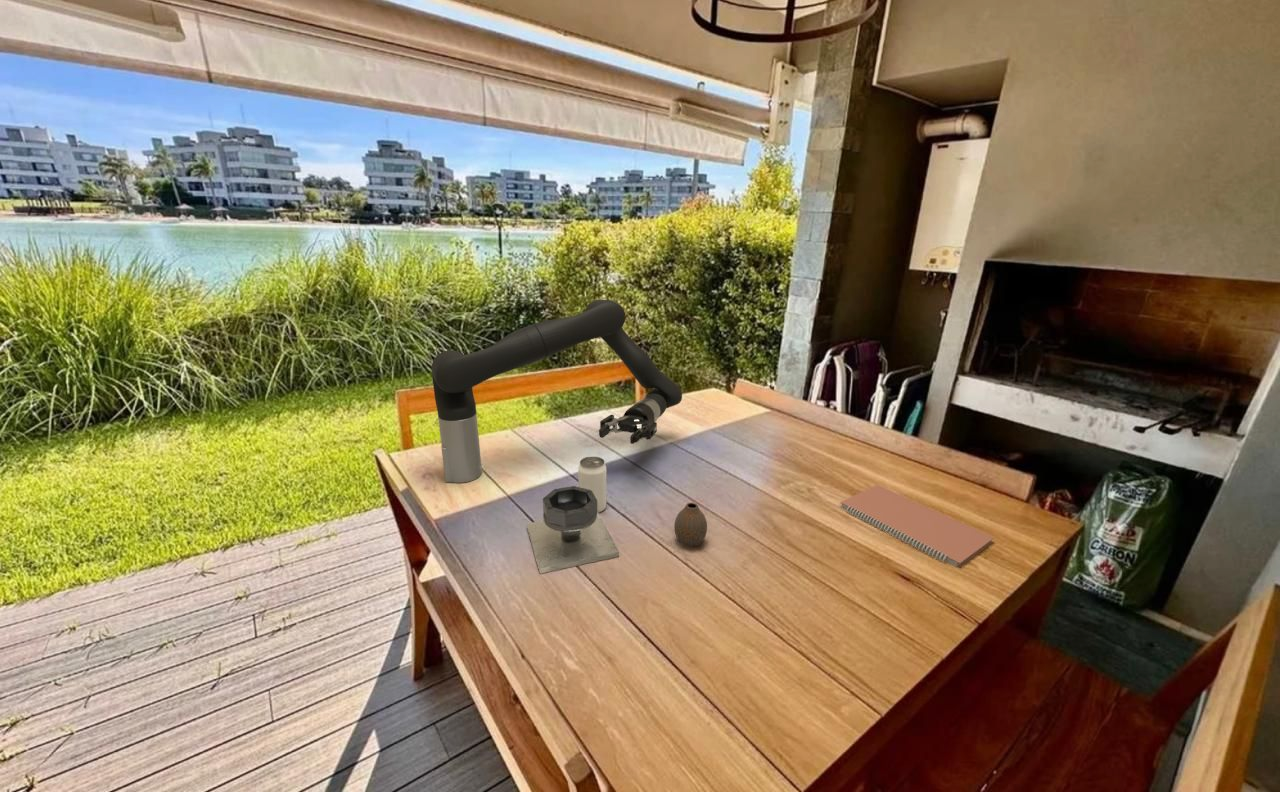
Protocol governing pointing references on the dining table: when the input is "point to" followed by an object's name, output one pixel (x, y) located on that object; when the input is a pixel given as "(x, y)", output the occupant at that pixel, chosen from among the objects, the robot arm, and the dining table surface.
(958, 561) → the notebook
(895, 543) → the dining table surface
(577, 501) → the cup bracket
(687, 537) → the vase
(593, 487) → the can
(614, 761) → the dining table surface
